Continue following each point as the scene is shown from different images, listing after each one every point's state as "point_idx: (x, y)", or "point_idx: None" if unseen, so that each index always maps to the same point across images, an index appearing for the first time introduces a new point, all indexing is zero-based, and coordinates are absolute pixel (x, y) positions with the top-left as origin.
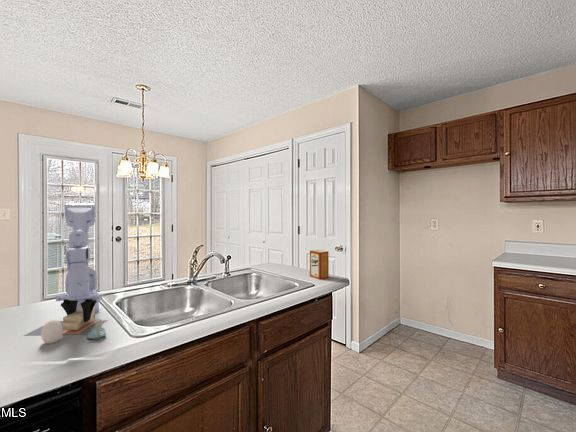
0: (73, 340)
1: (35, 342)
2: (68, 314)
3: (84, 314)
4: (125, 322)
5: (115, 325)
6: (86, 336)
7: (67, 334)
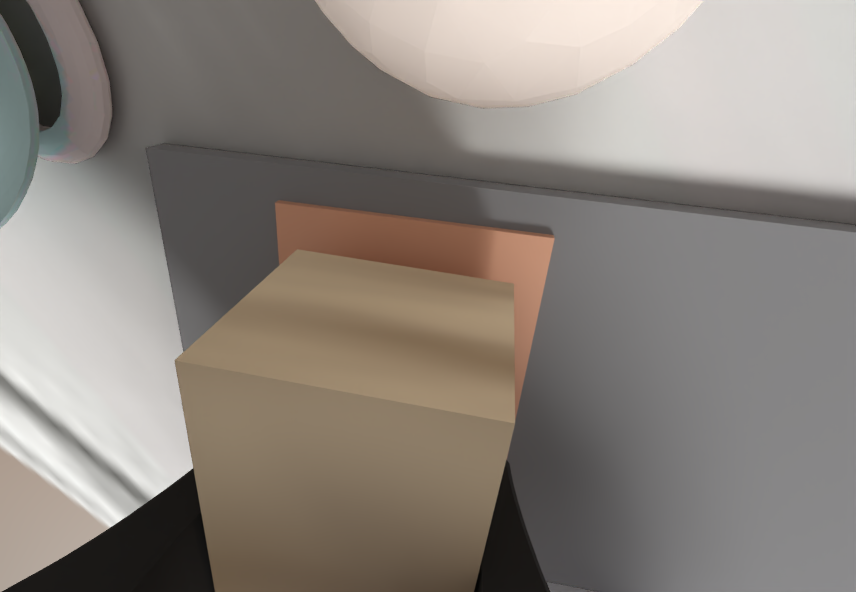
0: (241, 20)
1: (849, 6)
2: (510, 575)
3: (177, 505)
4: (45, 455)
5: (82, 408)
6: (92, 82)
7: (420, 197)
